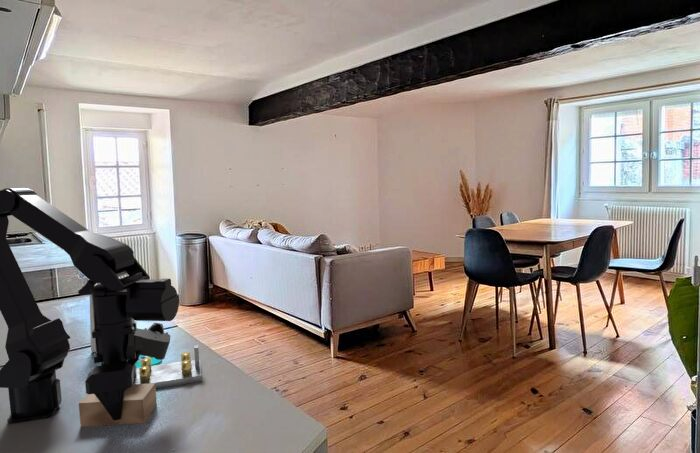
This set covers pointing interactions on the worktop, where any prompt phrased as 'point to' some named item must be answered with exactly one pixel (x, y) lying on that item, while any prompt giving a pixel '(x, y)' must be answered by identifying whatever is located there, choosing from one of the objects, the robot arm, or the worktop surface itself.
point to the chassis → (169, 371)
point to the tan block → (134, 409)
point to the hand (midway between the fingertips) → (120, 409)
